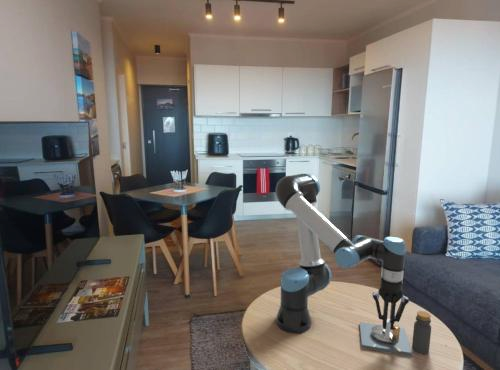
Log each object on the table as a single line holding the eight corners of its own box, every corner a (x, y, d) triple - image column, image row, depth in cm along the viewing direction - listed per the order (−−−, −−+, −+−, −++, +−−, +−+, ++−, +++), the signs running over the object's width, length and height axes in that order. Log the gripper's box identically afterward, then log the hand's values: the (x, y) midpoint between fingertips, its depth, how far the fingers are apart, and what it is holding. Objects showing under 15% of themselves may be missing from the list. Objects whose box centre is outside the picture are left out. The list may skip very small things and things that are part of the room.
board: (361, 348, 129) (361, 345, 129) (359, 324, 145) (359, 321, 145) (412, 357, 125) (412, 353, 124) (404, 331, 140) (404, 327, 140)
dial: (396, 349, 126) (397, 330, 125) (366, 335, 135) (367, 318, 133) (406, 337, 133) (407, 320, 132) (377, 325, 142) (378, 308, 140)
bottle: (432, 352, 127) (436, 316, 125) (420, 355, 125) (423, 319, 123) (420, 343, 132) (423, 308, 130) (408, 346, 131) (411, 311, 128)
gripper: (374, 280, 122) (370, 339, 126) (412, 285, 119) (407, 345, 123) (372, 272, 130) (368, 328, 133) (408, 276, 126) (403, 333, 130)
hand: (387, 336), depth 128 cm, fingers closed
